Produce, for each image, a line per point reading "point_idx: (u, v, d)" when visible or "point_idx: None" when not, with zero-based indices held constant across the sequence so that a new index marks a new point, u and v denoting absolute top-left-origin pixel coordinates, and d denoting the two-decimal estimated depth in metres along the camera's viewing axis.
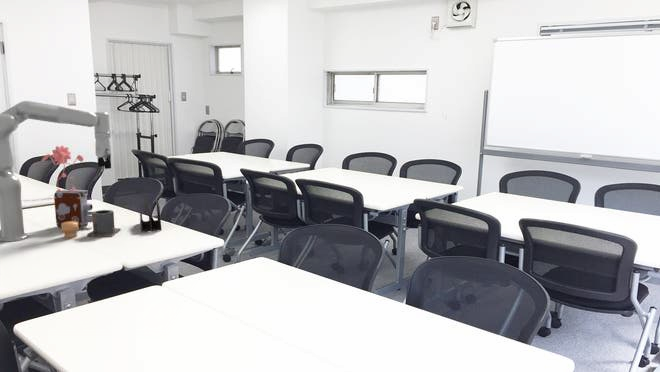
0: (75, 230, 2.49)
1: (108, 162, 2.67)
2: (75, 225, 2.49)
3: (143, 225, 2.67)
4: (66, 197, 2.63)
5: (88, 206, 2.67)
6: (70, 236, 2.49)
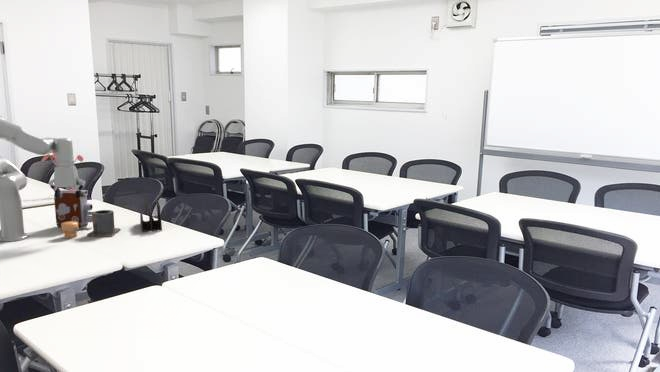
0: (75, 230, 2.49)
1: (80, 191, 2.48)
2: (75, 225, 2.49)
3: (143, 225, 2.67)
4: (66, 197, 2.63)
5: (88, 206, 2.67)
6: (70, 236, 2.49)
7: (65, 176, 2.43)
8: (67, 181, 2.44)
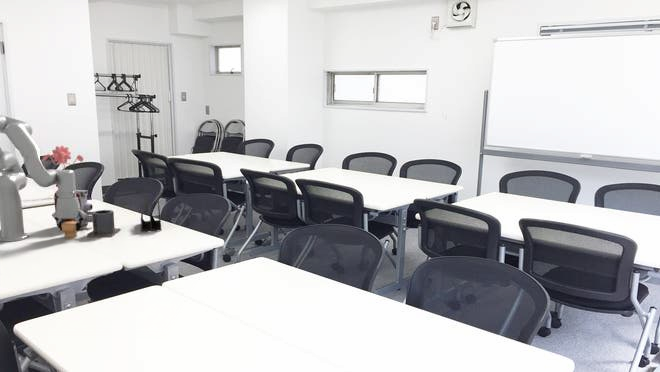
0: (75, 230, 2.49)
1: (80, 223, 2.50)
2: (75, 225, 2.49)
3: (143, 225, 2.68)
4: None
5: (88, 206, 2.67)
6: (70, 236, 2.49)
7: (67, 207, 2.46)
8: (69, 212, 2.46)
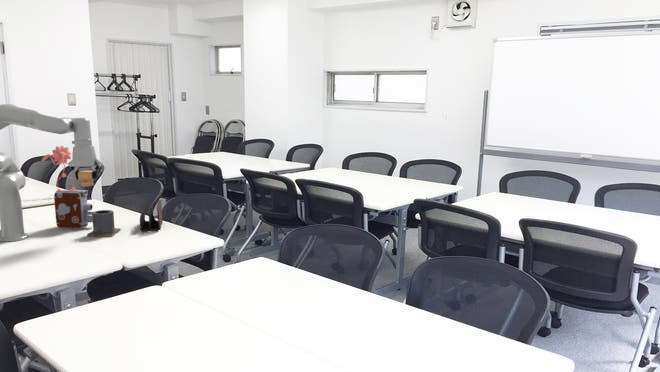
0: (92, 178, 2.48)
1: (96, 172, 2.50)
2: (91, 173, 2.48)
3: (143, 225, 2.68)
4: (66, 197, 2.63)
5: (88, 206, 2.67)
6: (87, 184, 2.48)
7: (83, 155, 2.45)
8: (85, 160, 2.46)
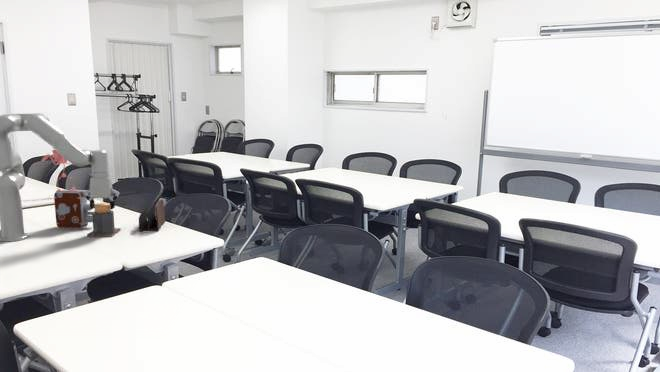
0: (108, 211, 2.54)
1: (114, 202, 2.55)
2: (108, 206, 2.54)
3: (144, 225, 2.68)
4: (66, 197, 2.63)
5: (88, 206, 2.67)
6: None
7: (100, 187, 2.51)
8: (102, 192, 2.51)
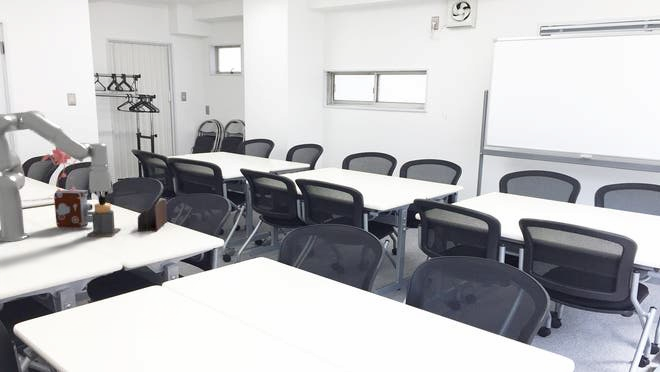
0: (108, 211, 2.54)
1: (105, 197, 2.55)
2: (108, 206, 2.54)
3: (144, 224, 2.69)
4: (66, 196, 2.63)
5: (88, 206, 2.67)
6: None
7: (100, 180, 2.50)
8: (102, 185, 2.51)
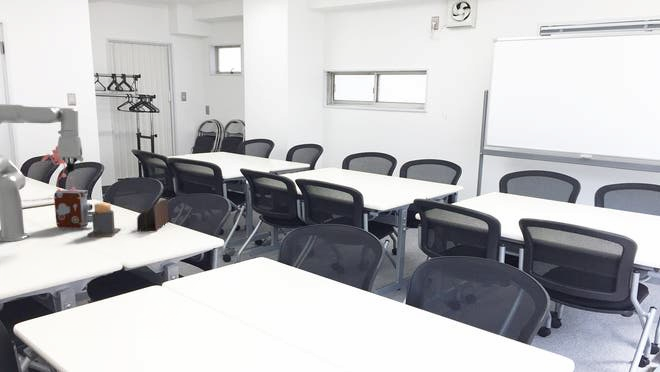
0: (108, 211, 2.54)
1: (73, 164, 2.47)
2: (108, 206, 2.54)
3: (144, 224, 2.69)
4: (66, 197, 2.63)
5: (88, 206, 2.67)
6: None
7: (69, 146, 2.43)
8: (71, 151, 2.44)
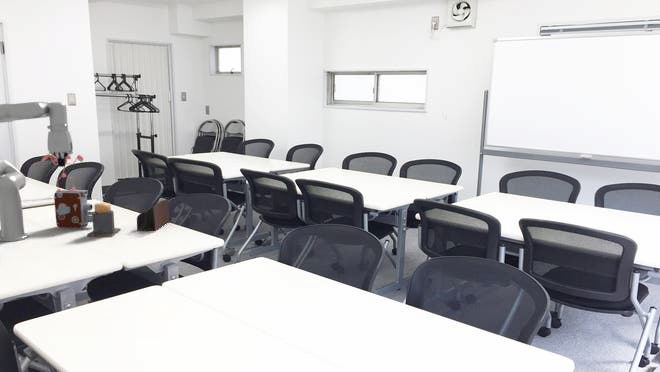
0: (108, 211, 2.54)
1: (64, 159, 2.46)
2: (108, 206, 2.54)
3: (144, 224, 2.69)
4: (66, 197, 2.63)
5: (88, 206, 2.67)
6: None
7: (59, 140, 2.41)
8: (61, 146, 2.42)
